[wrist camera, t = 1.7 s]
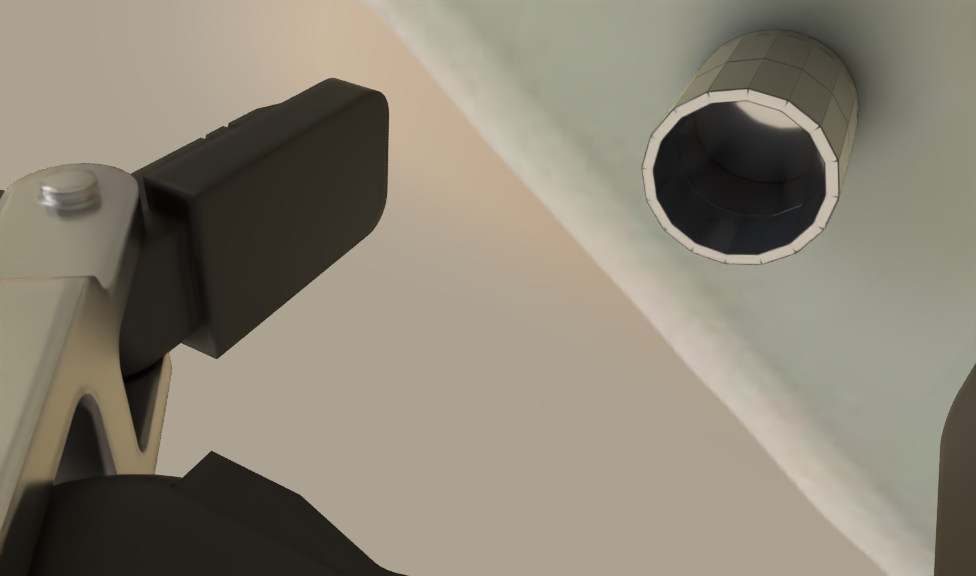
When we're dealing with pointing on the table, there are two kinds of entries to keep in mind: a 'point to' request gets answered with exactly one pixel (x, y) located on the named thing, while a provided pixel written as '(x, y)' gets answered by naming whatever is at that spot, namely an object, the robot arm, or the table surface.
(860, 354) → the table surface
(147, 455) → the robot arm
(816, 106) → the grey plastic cup
